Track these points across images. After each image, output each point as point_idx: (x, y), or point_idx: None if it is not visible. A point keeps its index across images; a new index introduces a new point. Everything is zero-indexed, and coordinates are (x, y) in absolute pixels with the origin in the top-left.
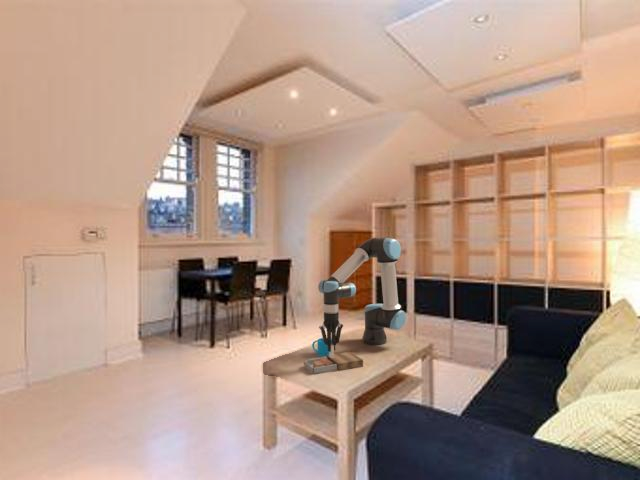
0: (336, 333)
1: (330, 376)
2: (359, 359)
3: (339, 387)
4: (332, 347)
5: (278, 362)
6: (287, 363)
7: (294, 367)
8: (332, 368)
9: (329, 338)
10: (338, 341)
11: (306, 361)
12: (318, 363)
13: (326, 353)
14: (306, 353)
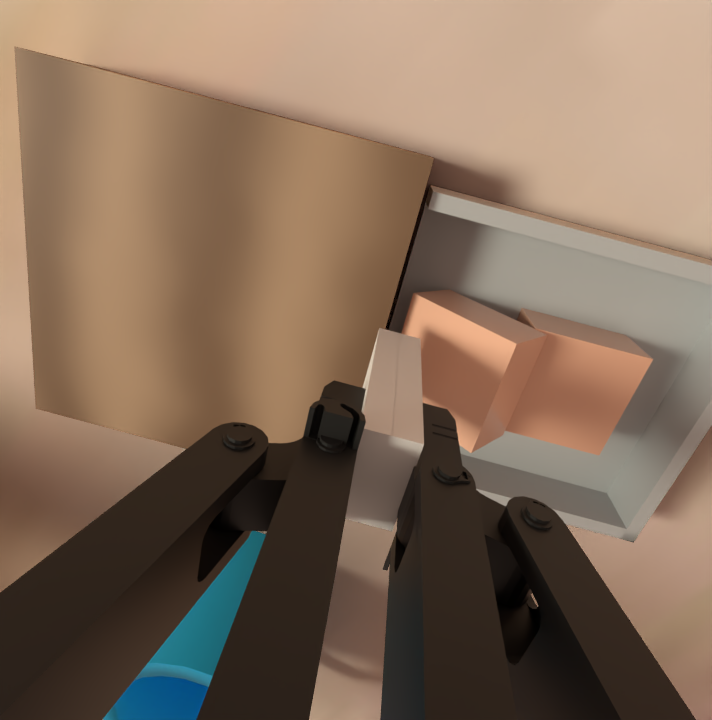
0: (110, 699)
1: (657, 63)
2: (58, 93)
3: None
4: (395, 414)
5: (684, 681)
6: (651, 628)
7: (694, 534)
8: (497, 205)
9: (480, 608)
10: (215, 443)
11: (611, 519)
12: (598, 375)
13: (252, 557)
14: (356, 669)
